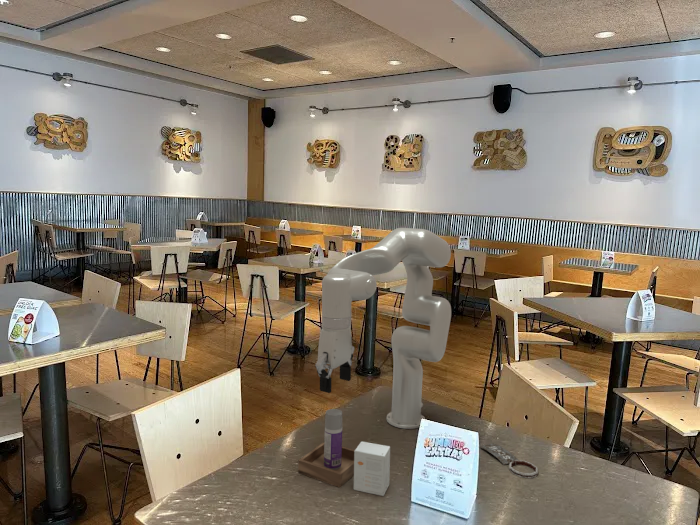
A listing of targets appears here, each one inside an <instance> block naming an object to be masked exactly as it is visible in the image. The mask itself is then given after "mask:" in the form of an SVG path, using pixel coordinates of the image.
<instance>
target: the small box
mask: <svg viewBox="0 0 700 525" xmlns="http://www.w3.org/2000/svg"><path fill="white" fill-rule="evenodd" d="M354 450H355V451H354V476H353V490H354V491H358V492H362V493H367V494H372V495H375V496H381V497H384V496H385V495H386V492H387V490H388V488H389V486H390V473H391V472H390V470H391V466H390V464H391V446H390V445H385V444H378V443H371V442H367V441H360V442H359V444H358V445H357V447H356V448H355V449H354Z"/></svg>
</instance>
